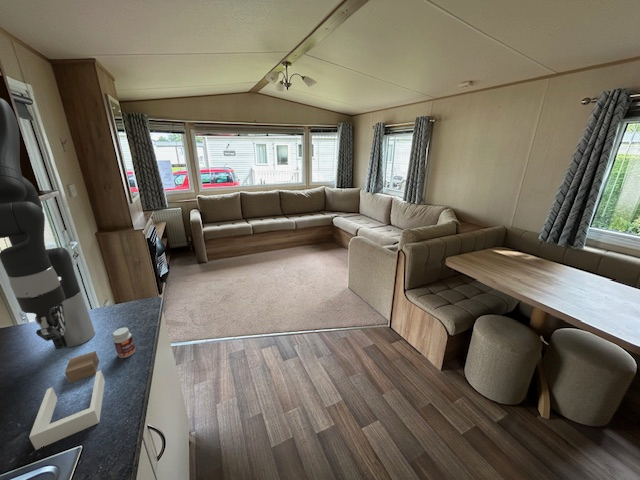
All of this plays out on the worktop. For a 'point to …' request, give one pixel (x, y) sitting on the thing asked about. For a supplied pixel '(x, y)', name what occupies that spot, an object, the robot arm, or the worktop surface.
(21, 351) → the worktop surface
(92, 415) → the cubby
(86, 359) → the walnut block
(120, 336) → the pill bottle
